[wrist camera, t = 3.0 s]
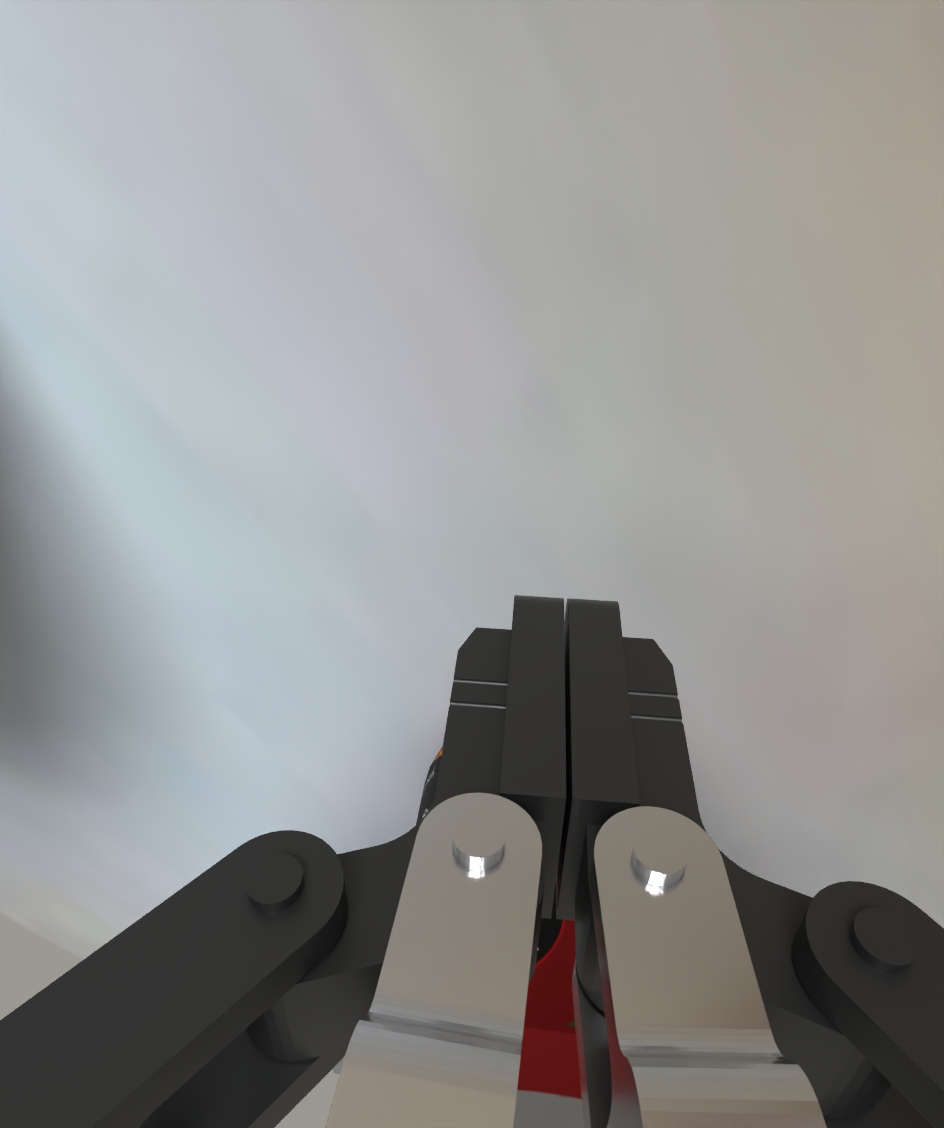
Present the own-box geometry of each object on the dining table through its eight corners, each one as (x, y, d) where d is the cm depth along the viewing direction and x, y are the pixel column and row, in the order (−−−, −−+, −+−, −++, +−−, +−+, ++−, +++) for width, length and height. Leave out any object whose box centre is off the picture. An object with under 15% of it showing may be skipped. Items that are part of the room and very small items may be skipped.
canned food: (643, 672, 22) (691, 1128, 13) (689, 849, 26) (750, 1289, 17) (390, 712, 24) (277, 1130, 15) (471, 870, 28) (420, 1274, 19)
